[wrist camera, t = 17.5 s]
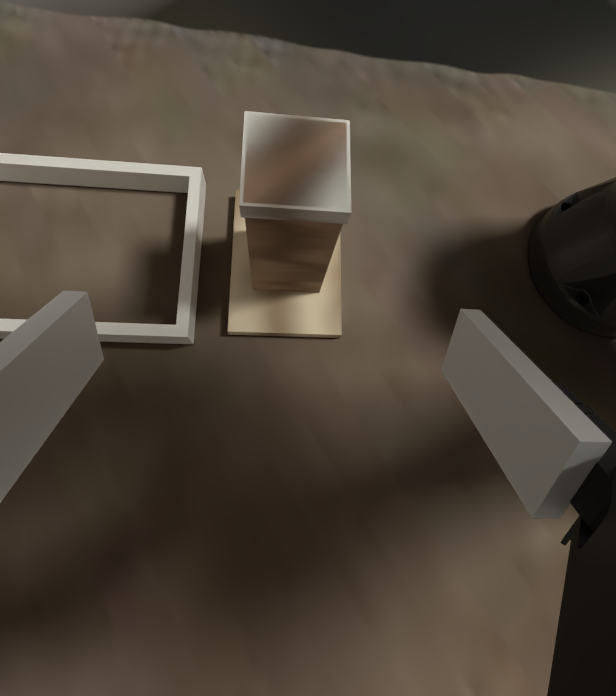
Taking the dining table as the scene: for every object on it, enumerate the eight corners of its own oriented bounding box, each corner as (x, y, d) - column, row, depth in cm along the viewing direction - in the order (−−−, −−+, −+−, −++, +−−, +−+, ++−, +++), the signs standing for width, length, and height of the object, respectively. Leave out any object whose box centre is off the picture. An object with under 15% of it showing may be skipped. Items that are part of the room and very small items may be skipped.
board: (337, 202, 38) (339, 196, 37) (339, 337, 35) (341, 335, 34) (236, 196, 37) (235, 189, 36) (228, 334, 34) (227, 331, 33)
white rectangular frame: (206, 185, 37) (201, 167, 35) (193, 344, 33) (187, 336, 31) (-14, 170, 35) (-35, 150, 33) (-54, 337, 31) (-81, 328, 29)
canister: (321, 231, 36) (349, 120, 23) (321, 294, 35) (351, 212, 22) (253, 227, 35) (244, 111, 23) (250, 291, 34) (239, 205, 21)
